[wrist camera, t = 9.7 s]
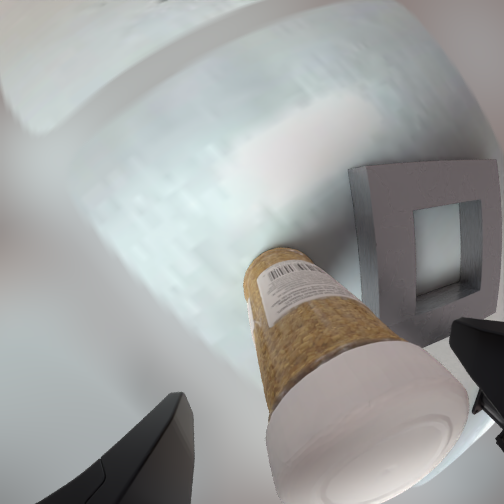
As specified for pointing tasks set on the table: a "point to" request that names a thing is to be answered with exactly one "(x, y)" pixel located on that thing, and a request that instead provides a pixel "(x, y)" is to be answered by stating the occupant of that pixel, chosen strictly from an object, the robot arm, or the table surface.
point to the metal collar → (403, 242)
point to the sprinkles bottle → (343, 389)
